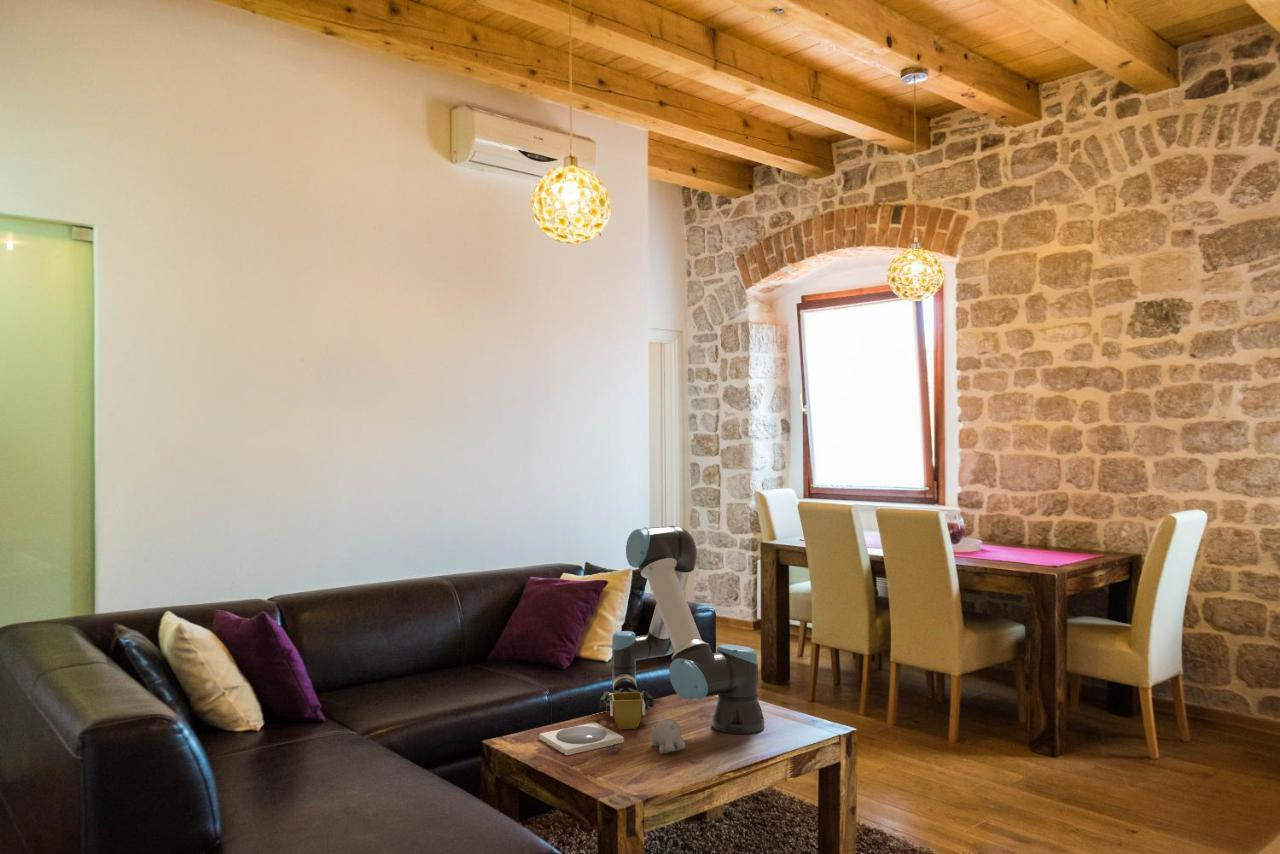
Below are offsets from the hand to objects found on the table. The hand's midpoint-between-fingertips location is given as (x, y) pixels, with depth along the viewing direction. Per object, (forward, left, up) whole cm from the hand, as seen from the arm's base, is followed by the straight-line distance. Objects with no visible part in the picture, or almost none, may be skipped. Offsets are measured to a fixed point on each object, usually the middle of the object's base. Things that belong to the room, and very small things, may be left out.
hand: (627, 710), depth 256 cm
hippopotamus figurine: (-19, 0, -6) cm, 20 cm away
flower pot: (+4, -2, -6) cm, 8 cm away
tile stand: (+1, +15, -6) cm, 16 cm away
